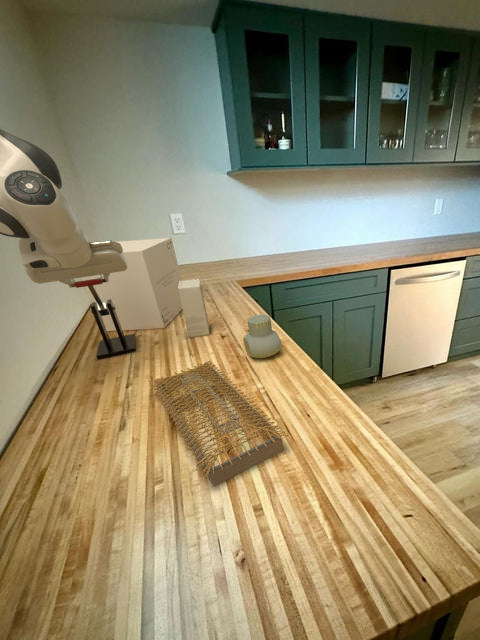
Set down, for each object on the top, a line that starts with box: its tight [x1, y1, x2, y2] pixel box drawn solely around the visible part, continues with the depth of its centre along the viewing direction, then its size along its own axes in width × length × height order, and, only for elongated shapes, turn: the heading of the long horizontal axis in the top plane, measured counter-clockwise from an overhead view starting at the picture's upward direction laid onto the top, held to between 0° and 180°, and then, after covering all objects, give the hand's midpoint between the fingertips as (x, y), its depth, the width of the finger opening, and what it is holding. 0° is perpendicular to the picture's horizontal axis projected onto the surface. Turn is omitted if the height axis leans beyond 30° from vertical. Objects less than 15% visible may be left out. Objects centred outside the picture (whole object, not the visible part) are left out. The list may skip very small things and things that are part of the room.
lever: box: [74, 278, 110, 316], centre depth 89 cm, size 13×6×2 cm
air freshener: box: [242, 313, 283, 359], centre depth 88 cm, size 11×8×10 cm
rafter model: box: [148, 360, 290, 487], centre depth 65 cm, size 35×14×6 cm, turn 34°
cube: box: [80, 237, 183, 332], centre depth 117 cm, size 25×21×24 cm
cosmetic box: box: [178, 278, 210, 338], centre depth 103 cm, size 8×7×16 cm
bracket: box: [90, 299, 137, 361], centre depth 97 cm, size 12×10×14 cm
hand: (89, 282), depth 85 cm, fingers closed on lever, 6 cm apart
